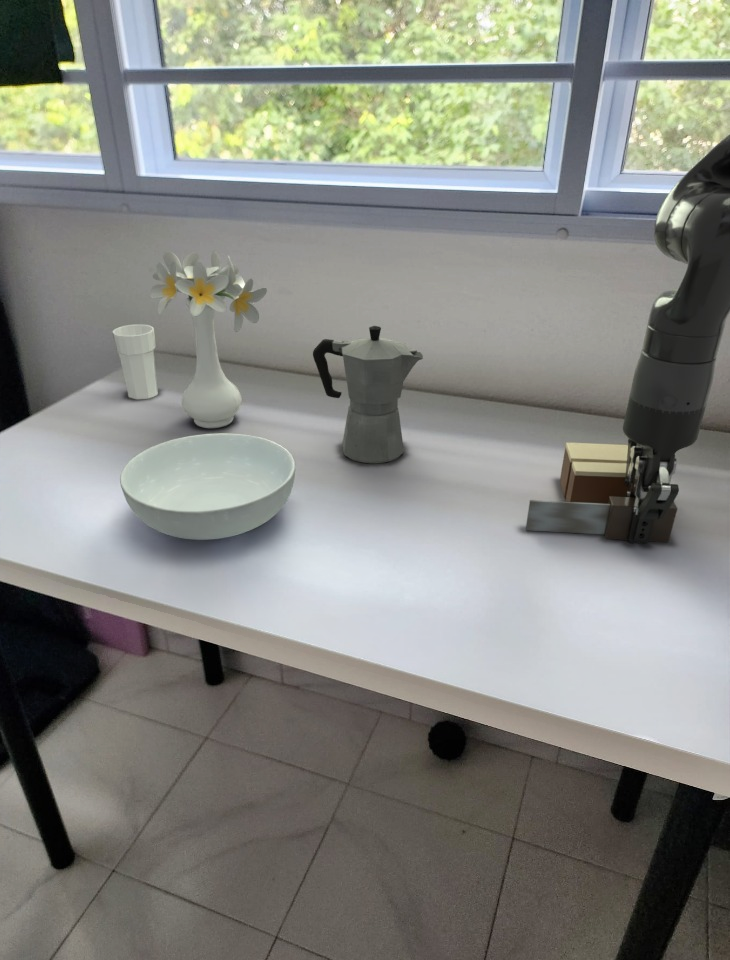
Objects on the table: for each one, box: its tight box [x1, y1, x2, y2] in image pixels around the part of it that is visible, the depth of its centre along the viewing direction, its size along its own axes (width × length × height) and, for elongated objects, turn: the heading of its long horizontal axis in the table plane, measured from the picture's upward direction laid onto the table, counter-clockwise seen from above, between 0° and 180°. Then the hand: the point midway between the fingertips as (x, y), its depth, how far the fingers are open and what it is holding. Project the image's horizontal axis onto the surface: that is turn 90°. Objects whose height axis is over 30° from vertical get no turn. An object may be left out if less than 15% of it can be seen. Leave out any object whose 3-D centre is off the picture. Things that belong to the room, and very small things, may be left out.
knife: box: [525, 496, 678, 543], centre depth 87 cm, size 16×2×4 cm, turn 82°
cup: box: [111, 323, 159, 400], centre depth 126 cm, size 7×7×11 cm
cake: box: [559, 442, 628, 499], centre depth 95 cm, size 9×5×6 cm, turn 82°
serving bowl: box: [119, 432, 296, 541], centre depth 91 cm, size 21×21×7 cm
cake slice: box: [565, 462, 628, 504], centre depth 92 cm, size 9×3×6 cm, turn 83°
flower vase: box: [148, 250, 268, 429], centre depth 111 cm, size 13×18×25 cm
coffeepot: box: [312, 325, 424, 464], centre depth 104 cm, size 15×9×18 cm, turn 70°
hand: (634, 534), depth 88 cm, fingers closed on knife, 2 cm apart
